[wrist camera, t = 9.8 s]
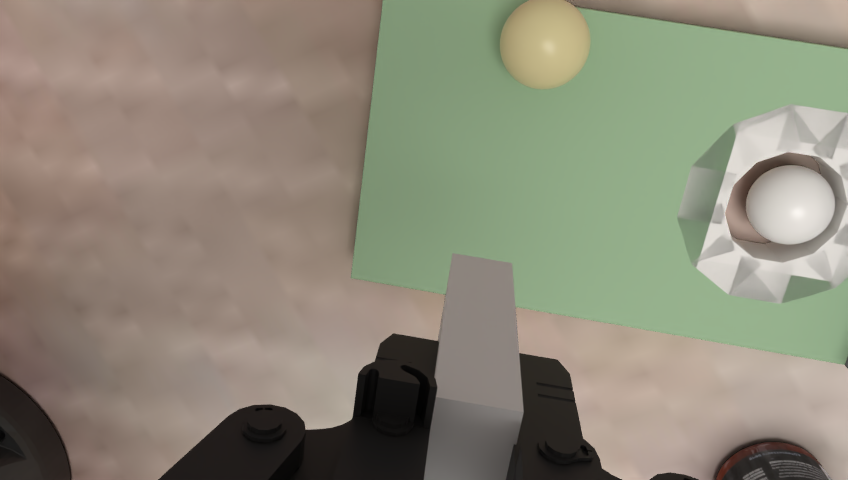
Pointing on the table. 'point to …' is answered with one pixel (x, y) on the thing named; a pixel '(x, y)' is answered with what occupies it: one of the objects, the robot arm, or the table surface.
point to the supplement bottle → (772, 464)
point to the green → (607, 173)
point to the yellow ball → (545, 43)
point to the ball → (790, 204)
